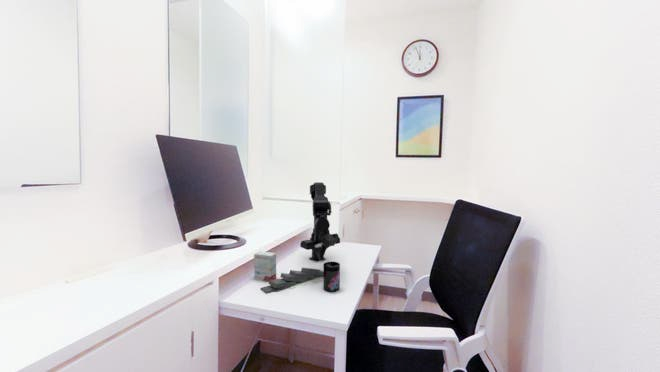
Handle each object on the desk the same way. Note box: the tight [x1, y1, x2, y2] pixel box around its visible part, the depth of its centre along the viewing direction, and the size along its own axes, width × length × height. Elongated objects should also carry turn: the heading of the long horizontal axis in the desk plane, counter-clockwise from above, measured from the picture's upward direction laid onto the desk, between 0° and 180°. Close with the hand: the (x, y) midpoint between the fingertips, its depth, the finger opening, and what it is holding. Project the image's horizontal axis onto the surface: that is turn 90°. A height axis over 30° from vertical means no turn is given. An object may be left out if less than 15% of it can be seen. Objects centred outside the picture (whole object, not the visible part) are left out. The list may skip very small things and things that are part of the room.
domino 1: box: [260, 284, 290, 295], centre depth 116 cm, size 5×2×10 cm
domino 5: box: [300, 267, 323, 276], centre depth 128 cm, size 5×2×10 cm
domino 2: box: [268, 278, 296, 288], centre depth 117 cm, size 5×2×10 cm
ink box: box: [253, 250, 277, 283], centre depth 125 cm, size 9×5×12 cm, turn 71°
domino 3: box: [280, 272, 307, 282], centre depth 121 cm, size 5×2×10 cm
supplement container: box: [322, 261, 341, 293], centre depth 116 cm, size 7×7×10 cm
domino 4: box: [288, 269, 315, 279], centre depth 124 cm, size 5×2×10 cm
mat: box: [288, 269, 324, 289], centre depth 127 cm, size 9×24×1 cm, turn 128°
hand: (320, 260), depth 130 cm, fingers closed
